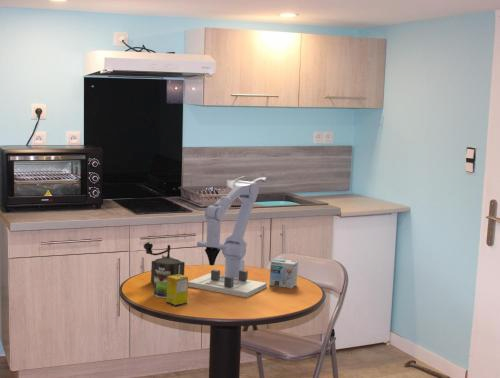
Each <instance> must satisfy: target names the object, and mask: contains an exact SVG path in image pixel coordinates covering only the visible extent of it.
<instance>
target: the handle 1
mask: <svg viewBox="0 0 500 378" xmlns="http://www.w3.org/2000/svg"><path fill="white" fill-rule="evenodd" d="M233 283H234V277H231V276H226V277H225V281H224V287H230V288H231V287H233Z"/></svg>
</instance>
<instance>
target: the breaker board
mask: <svg viewBox="0 0 500 378" xmlns="http://www.w3.org/2000/svg"><path fill="white" fill-rule="evenodd" d="M224 275H225V274H223V275H222V274H220V280H217V281H216V280H211V272H209V273H207V274H203V275H202V276H201V275H200V276H199V277H197V278H194V279H192V280H188V288H189V287H190V288H194V289H195V288H196V289H200V290H205V291H211V292H216V293H221V294H226V295H231V296H237V297H242V298H249V297H251V296H253V295H255V294H257V293H259V292H261V291H263V290H264V289H267V287H268V282H263V281H257V280H251V279H247V280H246V281H241V280H239V278H235V277H234V283H233V287H231V288H230V287H224V281H225V277H226V276H224Z"/></svg>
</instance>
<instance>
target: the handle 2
mask: <svg viewBox="0 0 500 378" xmlns="http://www.w3.org/2000/svg"><path fill="white" fill-rule="evenodd" d="M248 273H249V271H248V270H245V269H244V270H240V271H239V280H241V281H246V280H248V277H249V275H248Z"/></svg>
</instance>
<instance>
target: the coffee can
mask: <svg viewBox="0 0 500 378" xmlns="http://www.w3.org/2000/svg"><path fill="white" fill-rule="evenodd" d="M172 258H173V257H172ZM172 258H163V257H160V258H157V259H154V261H155V272H154V283H153V296H154V297H156V298H159V299H167V276H171V275H177V274H180V261H181V260H180V259H177V258H174V259H172Z"/></svg>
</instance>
